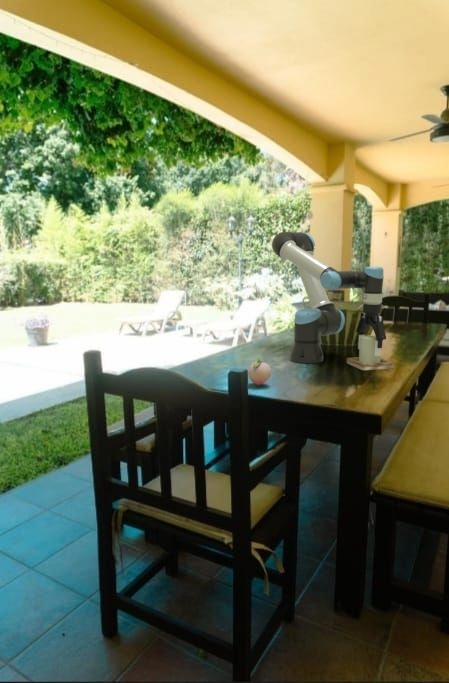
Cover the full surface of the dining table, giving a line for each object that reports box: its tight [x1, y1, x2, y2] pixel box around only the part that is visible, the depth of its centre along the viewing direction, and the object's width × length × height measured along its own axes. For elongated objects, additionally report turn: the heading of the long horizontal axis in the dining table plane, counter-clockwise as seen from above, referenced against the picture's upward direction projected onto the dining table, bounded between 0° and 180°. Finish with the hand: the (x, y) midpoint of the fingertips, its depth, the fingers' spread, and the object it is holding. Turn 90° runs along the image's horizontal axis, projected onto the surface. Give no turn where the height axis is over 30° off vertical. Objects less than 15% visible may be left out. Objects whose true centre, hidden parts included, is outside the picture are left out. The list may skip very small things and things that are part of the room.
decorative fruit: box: [247, 358, 272, 387], centre depth 165 cm, size 9×8×10 cm
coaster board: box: [346, 356, 394, 371], centre depth 197 cm, size 14×14×2 cm
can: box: [358, 334, 382, 364], centre depth 196 cm, size 9×9×12 cm
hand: (369, 352), depth 197 cm, fingers open, 13 cm apart
